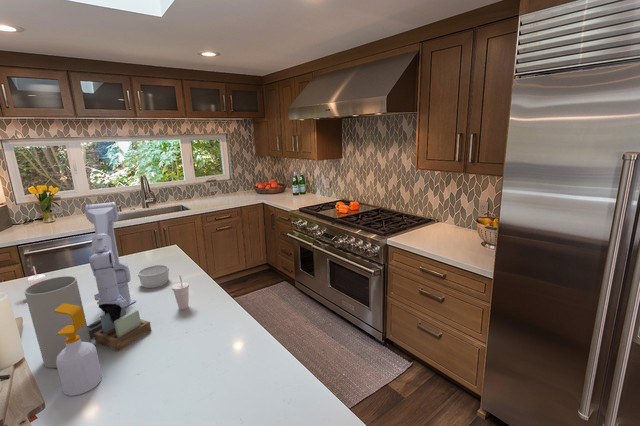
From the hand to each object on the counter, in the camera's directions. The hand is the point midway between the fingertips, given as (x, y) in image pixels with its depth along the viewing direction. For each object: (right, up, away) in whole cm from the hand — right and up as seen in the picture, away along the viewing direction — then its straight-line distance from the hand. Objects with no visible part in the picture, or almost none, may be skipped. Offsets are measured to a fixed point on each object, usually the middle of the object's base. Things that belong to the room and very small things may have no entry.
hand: (114, 321), depth 116 cm
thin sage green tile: (+7, -6, -2) cm, 9 cm away
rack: (+3, -5, 0) cm, 6 cm away
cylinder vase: (-9, -8, -10) cm, 15 cm away
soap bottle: (+5, -11, -22) cm, 25 cm away
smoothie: (+17, 0, +18) cm, 25 cm away
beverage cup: (-54, +1, +34) cm, 64 cm away
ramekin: (-6, +4, +42) cm, 42 cm away
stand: (-7, -4, +6) cm, 10 cm away
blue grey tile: (0, -5, +1) cm, 5 cm away
